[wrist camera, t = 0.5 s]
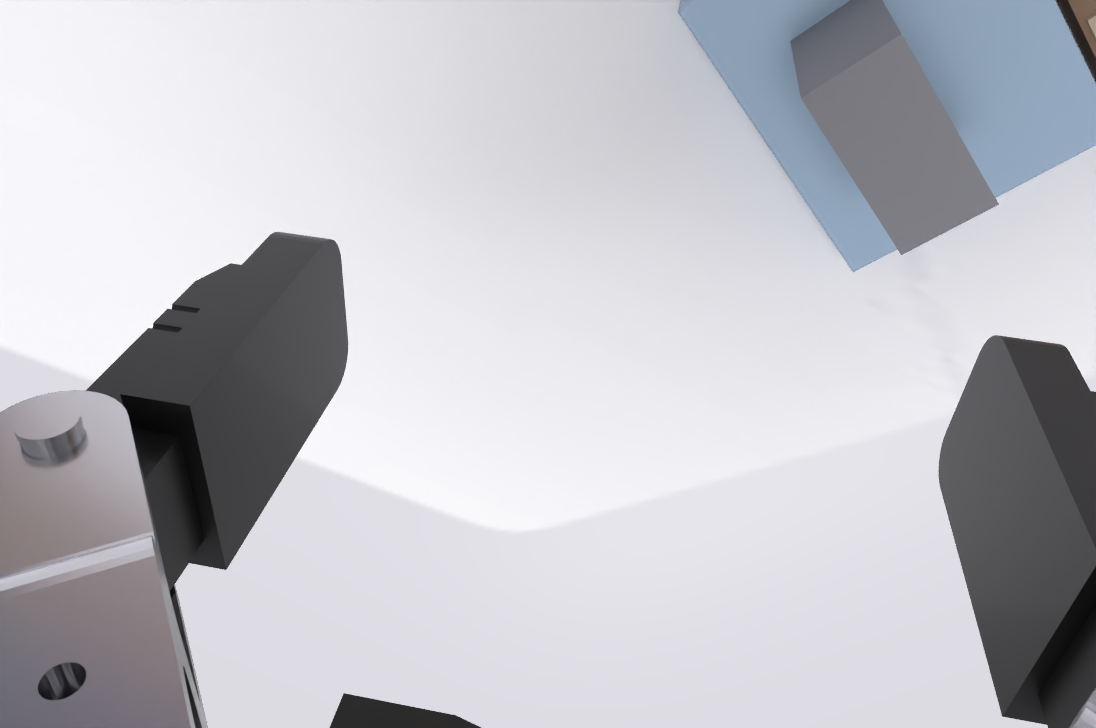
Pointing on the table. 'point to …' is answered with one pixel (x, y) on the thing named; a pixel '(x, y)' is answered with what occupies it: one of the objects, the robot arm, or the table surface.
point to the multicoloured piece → (902, 105)
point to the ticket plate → (1082, 27)
